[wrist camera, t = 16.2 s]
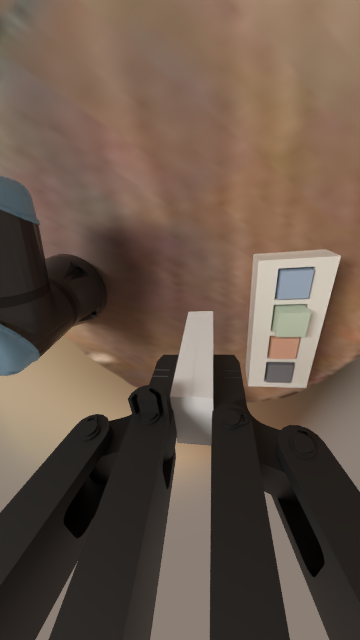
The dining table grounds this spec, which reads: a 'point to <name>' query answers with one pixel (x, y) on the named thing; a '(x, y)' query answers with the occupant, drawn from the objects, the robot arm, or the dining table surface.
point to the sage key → (290, 320)
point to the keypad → (266, 301)
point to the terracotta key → (283, 347)
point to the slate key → (294, 283)
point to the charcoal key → (279, 372)
